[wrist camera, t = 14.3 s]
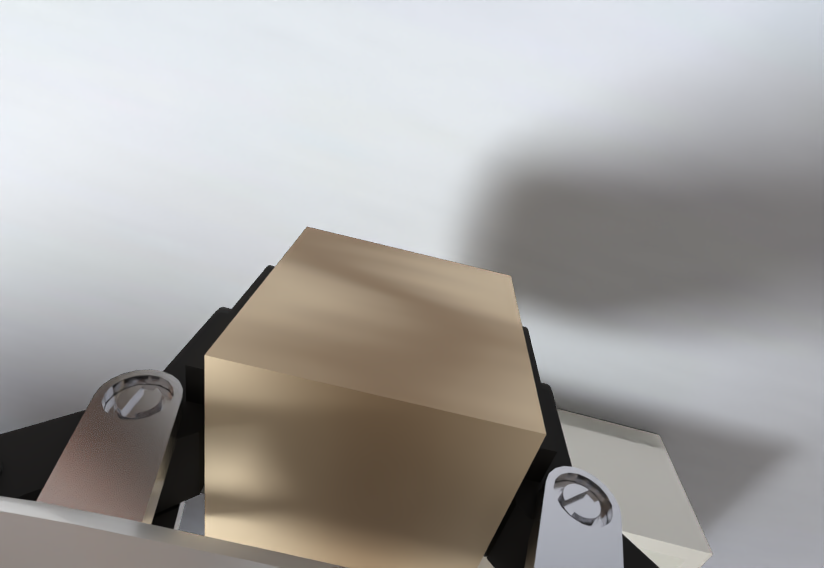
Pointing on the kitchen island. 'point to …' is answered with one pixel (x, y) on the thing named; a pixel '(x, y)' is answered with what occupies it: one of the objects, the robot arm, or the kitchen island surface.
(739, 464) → the kitchen island surface
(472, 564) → the cube
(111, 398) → the robot arm
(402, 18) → the kitchen island surface
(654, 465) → the tote
